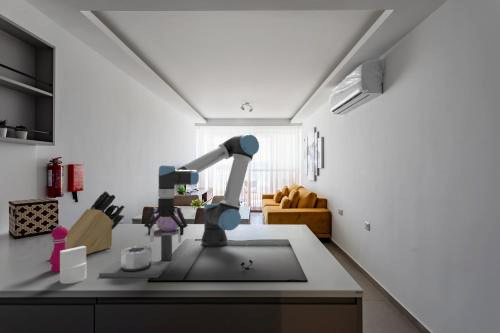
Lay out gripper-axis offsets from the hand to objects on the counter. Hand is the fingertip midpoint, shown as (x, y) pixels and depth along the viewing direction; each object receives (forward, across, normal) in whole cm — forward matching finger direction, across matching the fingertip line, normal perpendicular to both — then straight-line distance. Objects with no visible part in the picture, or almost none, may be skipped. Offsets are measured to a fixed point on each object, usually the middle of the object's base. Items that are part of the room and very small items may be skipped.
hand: (165, 241), depth 137 cm
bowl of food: (+8, -20, +63) cm, 67 cm away
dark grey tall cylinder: (+8, 0, 0) cm, 9 cm away
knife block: (+9, -44, +13) cm, 47 cm away
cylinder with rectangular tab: (+9, -28, -25) cm, 39 cm away
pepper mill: (+10, -42, -15) cm, 45 cm away
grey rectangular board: (+9, -8, -15) cm, 19 cm away
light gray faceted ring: (+7, -8, -15) cm, 18 cm away
